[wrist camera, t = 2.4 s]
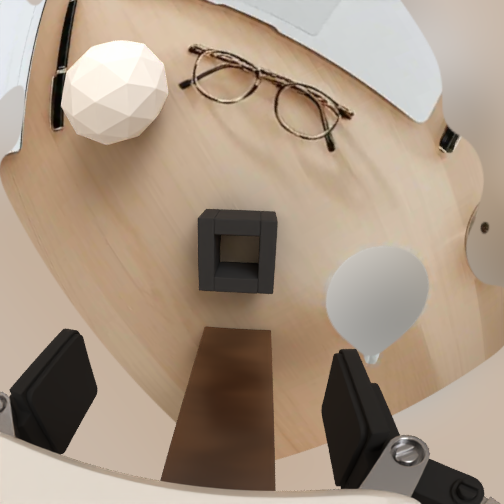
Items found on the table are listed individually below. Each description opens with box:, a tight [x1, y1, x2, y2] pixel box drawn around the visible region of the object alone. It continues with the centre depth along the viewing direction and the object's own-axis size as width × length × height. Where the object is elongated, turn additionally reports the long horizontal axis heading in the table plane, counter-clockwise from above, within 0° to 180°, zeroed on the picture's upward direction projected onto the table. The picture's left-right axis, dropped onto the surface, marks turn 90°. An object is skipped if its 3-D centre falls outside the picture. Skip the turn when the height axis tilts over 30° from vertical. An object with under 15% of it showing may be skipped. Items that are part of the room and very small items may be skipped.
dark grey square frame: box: [198, 209, 278, 294], centre depth 24 cm, size 6×6×3 cm
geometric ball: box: [61, 40, 169, 145], centre depth 19 cm, size 8×8×8 cm
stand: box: [160, 327, 275, 491], centre depth 16 cm, size 8×8×28 cm
